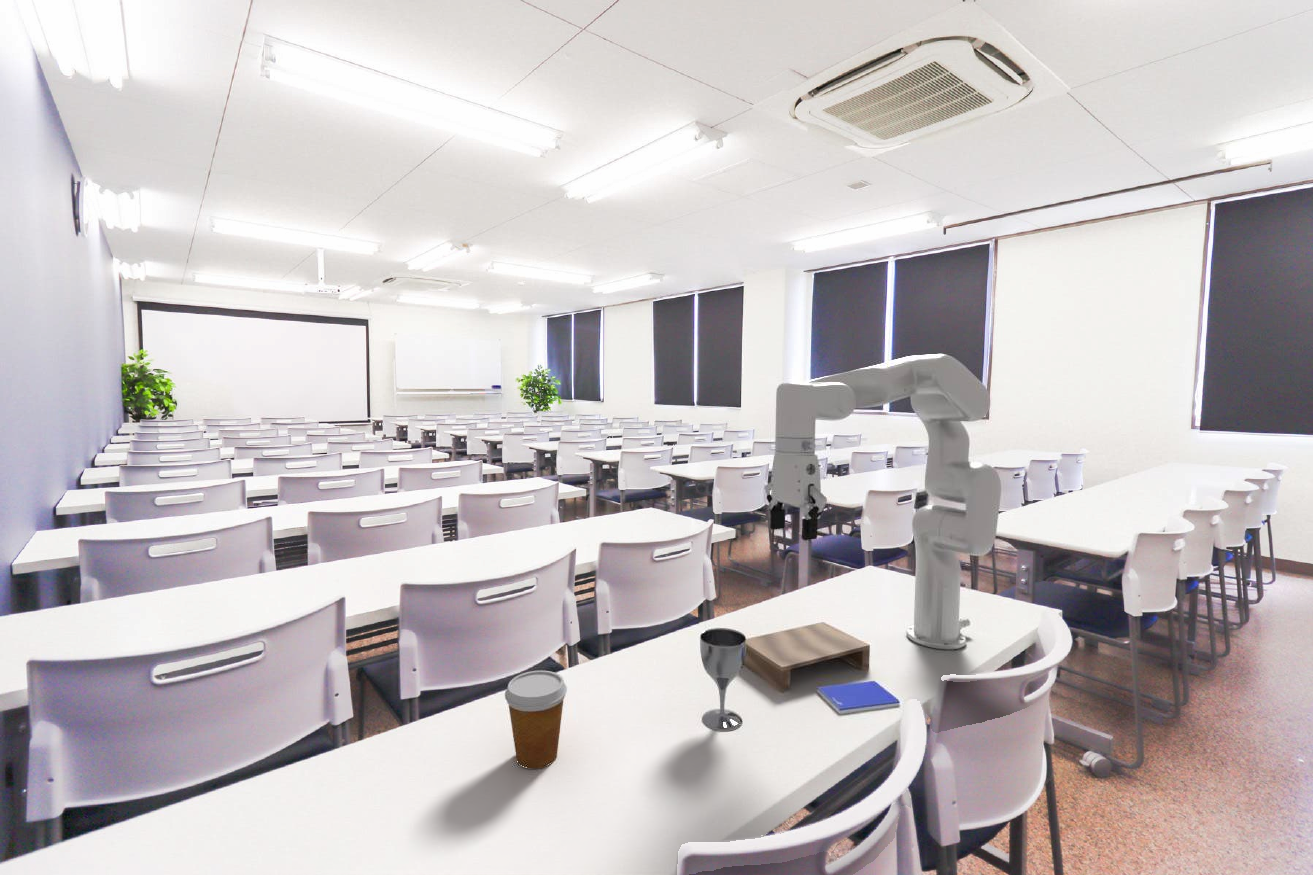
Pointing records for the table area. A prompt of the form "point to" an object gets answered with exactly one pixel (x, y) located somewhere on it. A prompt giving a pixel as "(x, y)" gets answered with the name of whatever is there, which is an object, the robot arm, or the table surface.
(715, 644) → the wine glass
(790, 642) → the wooden shelf
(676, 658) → the table surface
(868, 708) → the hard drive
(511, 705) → the disposable coffee cup
